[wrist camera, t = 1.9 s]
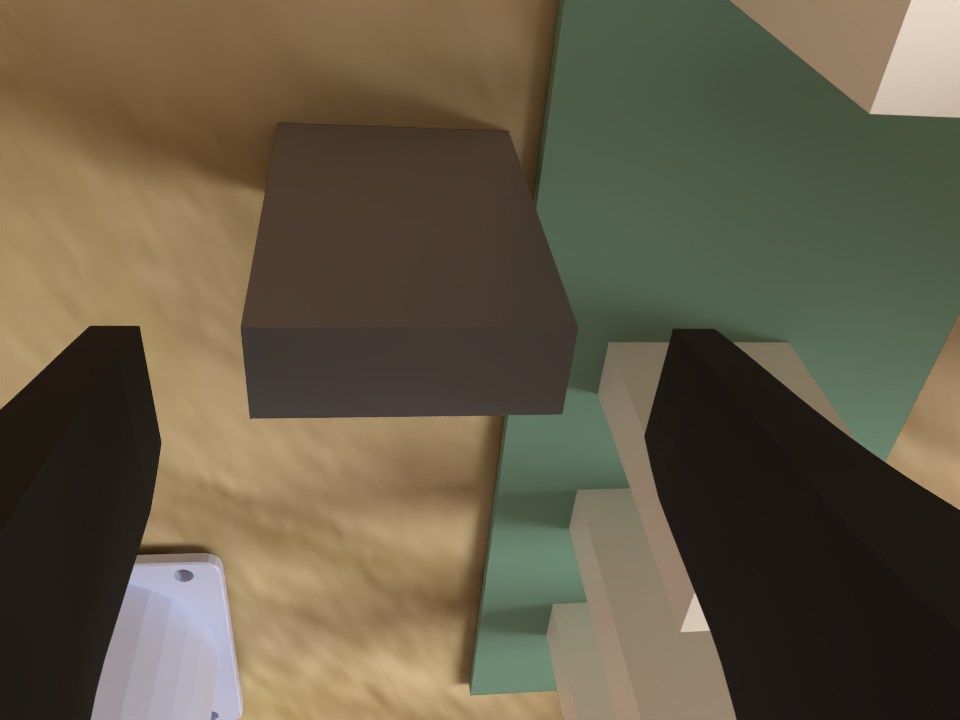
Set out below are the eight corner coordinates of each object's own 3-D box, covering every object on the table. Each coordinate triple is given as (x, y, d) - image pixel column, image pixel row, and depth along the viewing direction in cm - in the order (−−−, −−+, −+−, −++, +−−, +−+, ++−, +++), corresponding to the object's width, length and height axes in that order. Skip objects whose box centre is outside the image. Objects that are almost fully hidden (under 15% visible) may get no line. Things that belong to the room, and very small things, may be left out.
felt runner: (469, 684, 30) (470, 695, 29) (601, -310, 13) (606, -312, 13) (772, 668, 31) (776, 678, 31) (1219, -243, 15) (1238, -242, 15)
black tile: (500, 202, 19) (562, 414, 13) (282, 196, 18) (250, 418, 12) (508, 130, 18) (578, 327, 12) (277, 122, 17) (240, 327, 11)
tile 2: (722, 524, 25) (824, 755, 20) (569, 529, 25) (629, 769, 19) (736, 485, 24) (847, 717, 19) (577, 489, 24) (644, 730, 18)
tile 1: (683, 629, 28) (763, 854, 23) (546, 634, 28) (593, 869, 22) (694, 597, 27) (781, 825, 22) (552, 604, 27) (604, 840, 21)
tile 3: (770, 392, 22) (906, 621, 17) (597, 393, 22) (680, 632, 16) (789, 342, 21) (940, 567, 16) (608, 342, 21) (700, 576, 15)
